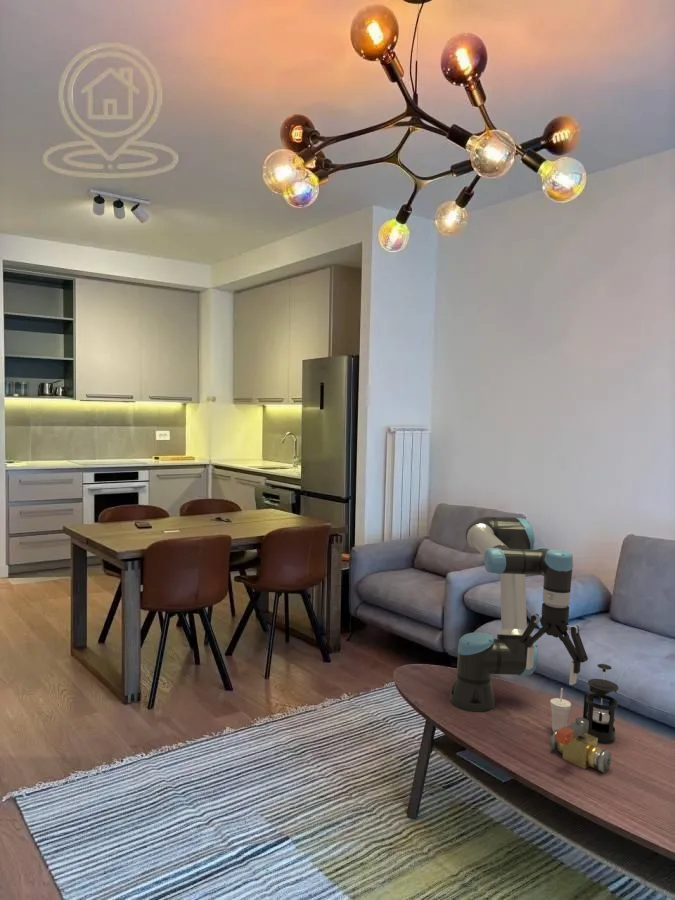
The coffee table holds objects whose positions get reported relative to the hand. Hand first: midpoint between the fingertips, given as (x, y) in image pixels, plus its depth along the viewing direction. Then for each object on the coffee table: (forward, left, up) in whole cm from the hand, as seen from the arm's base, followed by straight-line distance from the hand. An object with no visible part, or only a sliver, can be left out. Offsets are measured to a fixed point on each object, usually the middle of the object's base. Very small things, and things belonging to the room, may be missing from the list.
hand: (550, 675), depth 195 cm
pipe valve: (+7, +7, -25) cm, 27 cm away
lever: (+7, +2, -16) cm, 17 cm away
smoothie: (-6, +18, -25) cm, 31 cm away
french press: (+3, +26, -25) cm, 36 cm away
